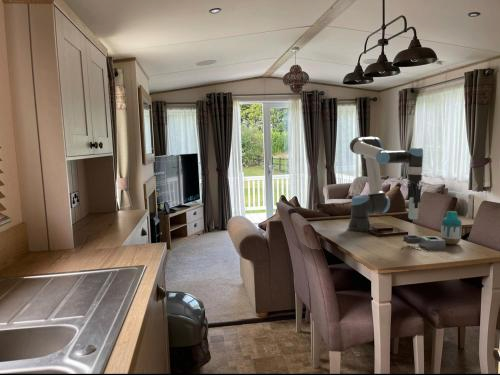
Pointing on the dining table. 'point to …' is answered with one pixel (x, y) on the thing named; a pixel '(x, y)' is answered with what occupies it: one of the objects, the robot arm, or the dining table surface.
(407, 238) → the holster
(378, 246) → the dining table surface
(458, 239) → the vase
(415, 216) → the plug
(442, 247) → the port panel
